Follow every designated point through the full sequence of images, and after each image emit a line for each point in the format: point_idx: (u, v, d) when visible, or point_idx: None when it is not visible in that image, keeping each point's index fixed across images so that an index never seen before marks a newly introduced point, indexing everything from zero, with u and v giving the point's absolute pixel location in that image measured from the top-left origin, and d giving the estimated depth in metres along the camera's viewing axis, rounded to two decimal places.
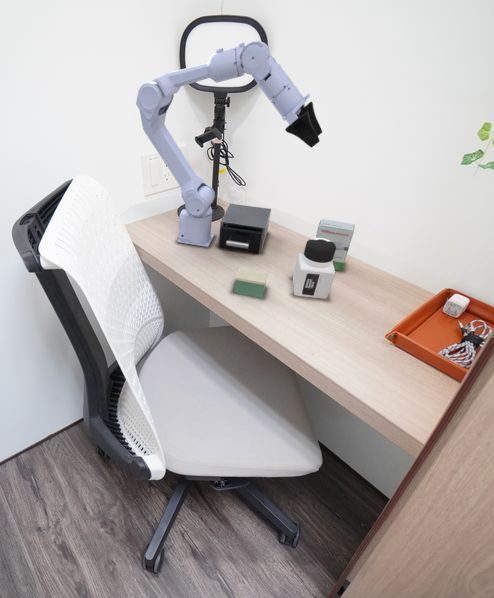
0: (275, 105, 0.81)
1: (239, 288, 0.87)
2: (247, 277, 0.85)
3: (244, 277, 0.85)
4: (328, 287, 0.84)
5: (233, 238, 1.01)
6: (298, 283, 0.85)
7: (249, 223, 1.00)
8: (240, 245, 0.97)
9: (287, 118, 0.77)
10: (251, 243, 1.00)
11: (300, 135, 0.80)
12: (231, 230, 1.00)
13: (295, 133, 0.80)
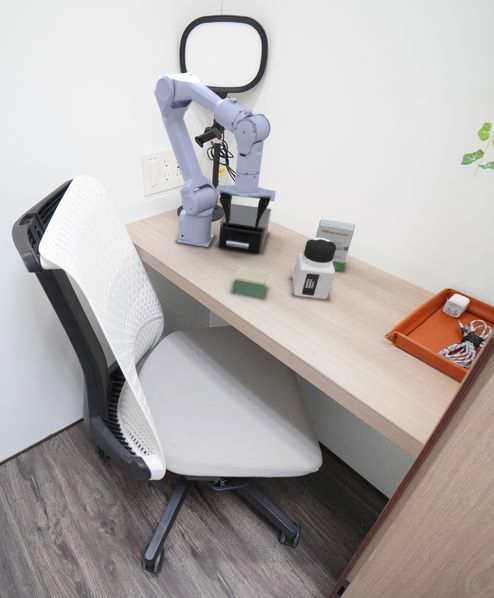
0: None
1: (239, 288, 0.87)
2: (247, 277, 0.85)
3: (244, 277, 0.85)
4: (328, 287, 0.84)
5: (233, 238, 1.01)
6: (298, 283, 0.85)
7: (249, 223, 1.00)
8: (240, 245, 0.97)
9: None
10: (251, 243, 1.00)
11: None
12: (231, 230, 1.00)
13: None
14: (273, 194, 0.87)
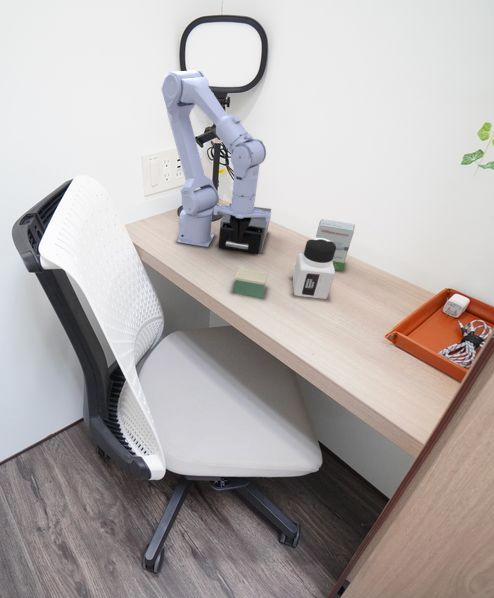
0: None
1: (239, 288, 0.87)
2: (247, 277, 0.85)
3: (244, 277, 0.85)
4: (328, 287, 0.84)
5: (233, 239, 1.01)
6: (298, 283, 0.85)
7: None
8: (240, 246, 0.96)
9: None
10: (250, 244, 1.00)
11: None
12: (231, 231, 0.99)
13: None
14: (268, 215, 0.90)
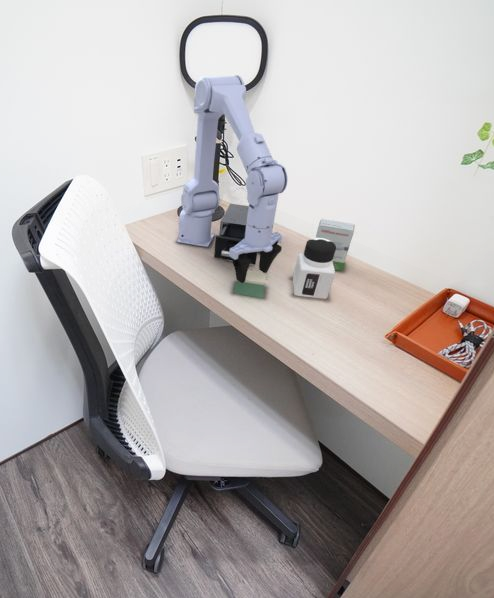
0: None
1: (239, 288, 0.87)
2: (247, 277, 0.85)
3: None
4: (328, 287, 0.84)
5: (229, 248, 0.96)
6: (298, 283, 0.85)
7: None
8: None
9: (230, 251, 0.78)
10: (247, 253, 0.96)
11: (235, 265, 0.83)
12: (227, 240, 0.95)
13: (232, 261, 0.82)
14: (281, 236, 0.83)
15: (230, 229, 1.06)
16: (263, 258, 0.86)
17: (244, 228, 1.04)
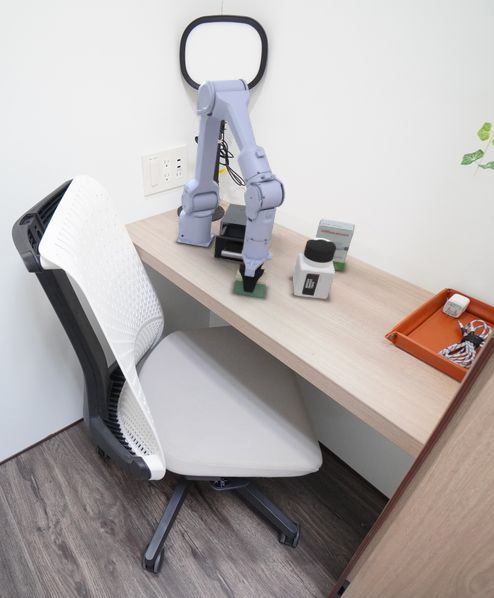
0: (246, 242, 0.80)
1: (239, 288, 0.87)
2: None
3: None
4: (328, 287, 0.84)
5: (229, 248, 0.96)
6: (298, 283, 0.85)
7: None
8: (236, 256, 0.92)
9: (247, 270, 0.77)
10: None
11: (244, 279, 0.83)
12: (227, 240, 0.95)
13: (243, 276, 0.82)
14: None
15: (230, 229, 1.06)
16: None
17: (244, 228, 1.04)
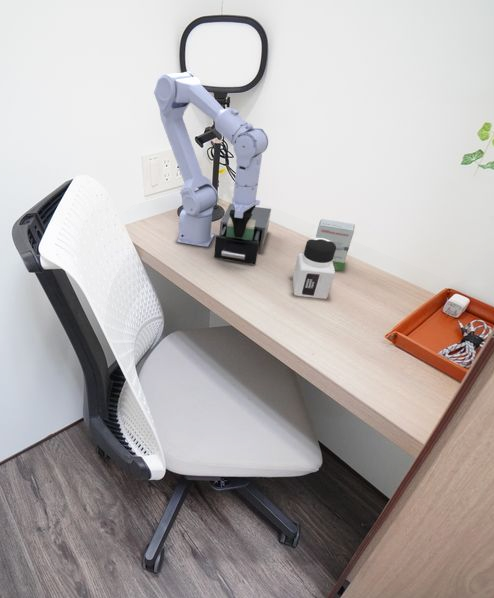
0: (235, 189, 0.90)
1: (231, 234, 0.97)
2: None
3: None
4: (328, 287, 0.84)
5: (229, 248, 0.96)
6: (298, 283, 0.85)
7: None
8: (236, 256, 0.92)
9: (236, 212, 0.87)
10: (247, 253, 0.96)
11: (235, 223, 0.94)
12: (227, 240, 0.95)
13: (233, 220, 0.92)
14: None
15: None
16: None
17: None
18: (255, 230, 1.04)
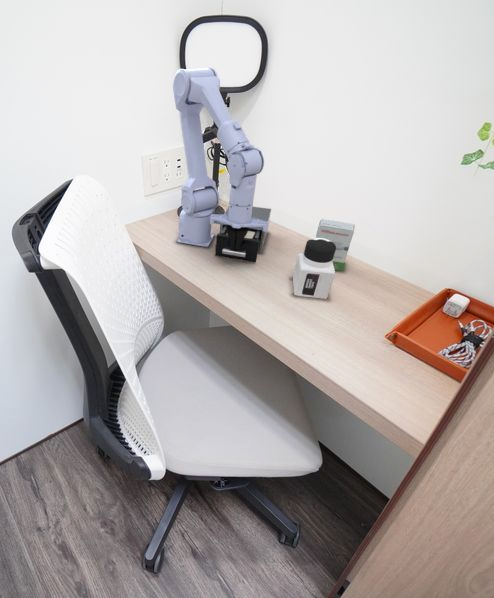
0: None
1: None
2: None
3: None
4: (328, 287, 0.84)
5: (230, 246, 0.97)
6: (298, 283, 0.85)
7: None
8: (237, 254, 0.93)
9: None
10: (248, 252, 0.96)
11: None
12: (227, 238, 0.96)
13: None
14: (266, 225, 0.88)
15: None
16: None
17: None
18: None
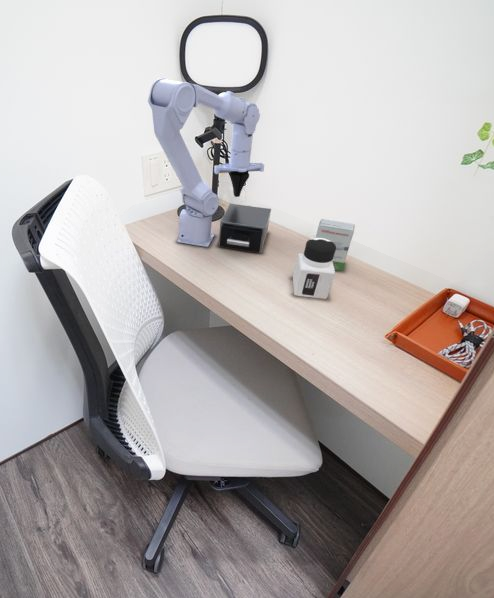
0: None
1: None
2: None
3: None
4: (328, 287, 0.84)
5: (234, 236, 1.02)
6: (298, 283, 0.85)
7: (249, 223, 1.00)
8: (241, 243, 0.97)
9: (214, 167, 1.05)
10: (251, 242, 1.01)
11: (232, 182, 1.09)
12: (232, 228, 1.00)
13: None
14: (263, 166, 1.05)
15: None
16: None
17: None
18: None
